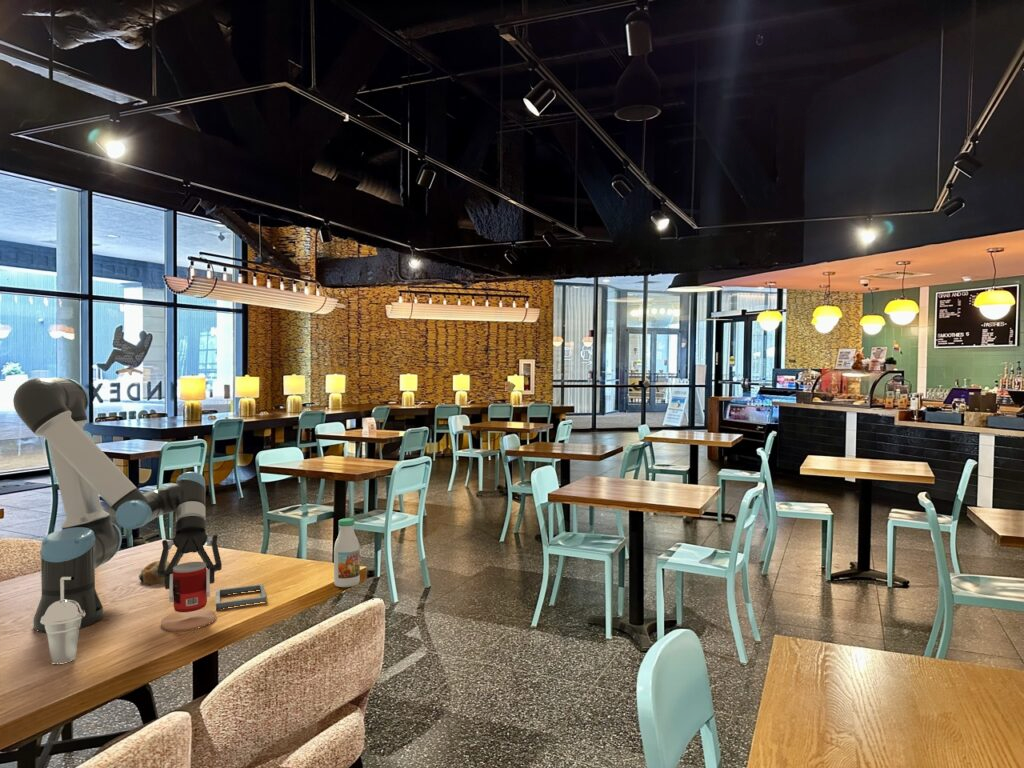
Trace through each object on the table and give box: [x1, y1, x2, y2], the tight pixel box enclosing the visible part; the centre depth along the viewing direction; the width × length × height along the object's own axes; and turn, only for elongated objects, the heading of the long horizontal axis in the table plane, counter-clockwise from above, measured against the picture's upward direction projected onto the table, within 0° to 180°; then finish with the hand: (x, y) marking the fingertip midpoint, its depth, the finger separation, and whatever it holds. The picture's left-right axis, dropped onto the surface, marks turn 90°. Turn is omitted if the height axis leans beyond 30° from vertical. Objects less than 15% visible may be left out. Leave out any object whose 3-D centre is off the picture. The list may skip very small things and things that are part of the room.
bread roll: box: [138, 560, 170, 586], centre depth 208 cm, size 10×10×8 cm
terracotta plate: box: [160, 608, 217, 632], centre depth 173 cm, size 13×13×1 cm
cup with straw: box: [40, 577, 86, 664], centre depth 149 cm, size 8×9×20 cm
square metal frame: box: [215, 583, 267, 611], centre depth 190 cm, size 13×13×2 cm
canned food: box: [173, 561, 208, 613], centre depth 173 cm, size 8×8×11 cm
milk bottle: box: [333, 517, 361, 588], centre depth 204 cm, size 8×8×20 cm
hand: (189, 596), depth 170 cm, fingers closed on canned food, 8 cm apart
